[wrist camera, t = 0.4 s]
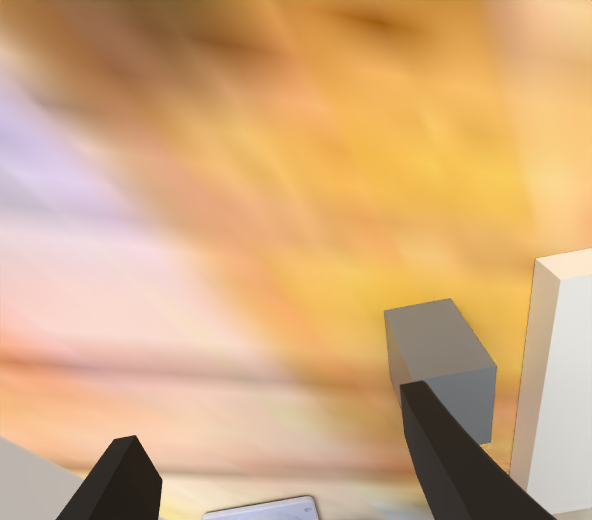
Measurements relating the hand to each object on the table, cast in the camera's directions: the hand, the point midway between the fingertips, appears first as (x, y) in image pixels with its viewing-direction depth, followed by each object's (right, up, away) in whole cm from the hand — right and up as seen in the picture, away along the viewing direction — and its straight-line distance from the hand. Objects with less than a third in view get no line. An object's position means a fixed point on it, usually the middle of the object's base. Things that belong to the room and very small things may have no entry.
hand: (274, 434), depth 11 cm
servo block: (+7, 0, +12) cm, 14 cm away
